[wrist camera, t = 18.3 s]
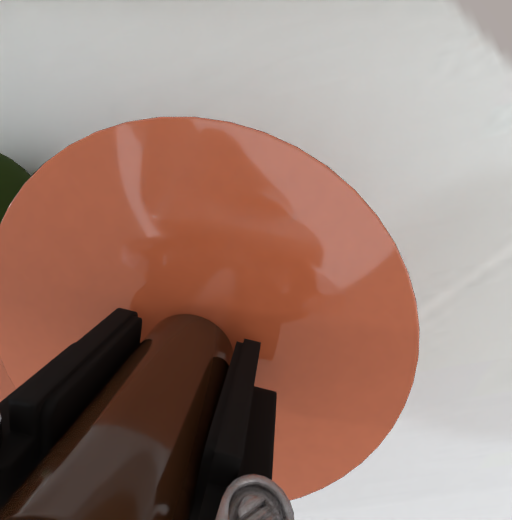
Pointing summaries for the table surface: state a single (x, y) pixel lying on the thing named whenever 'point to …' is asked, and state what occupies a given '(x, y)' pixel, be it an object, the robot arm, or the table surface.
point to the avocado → (10, 182)
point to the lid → (202, 310)
